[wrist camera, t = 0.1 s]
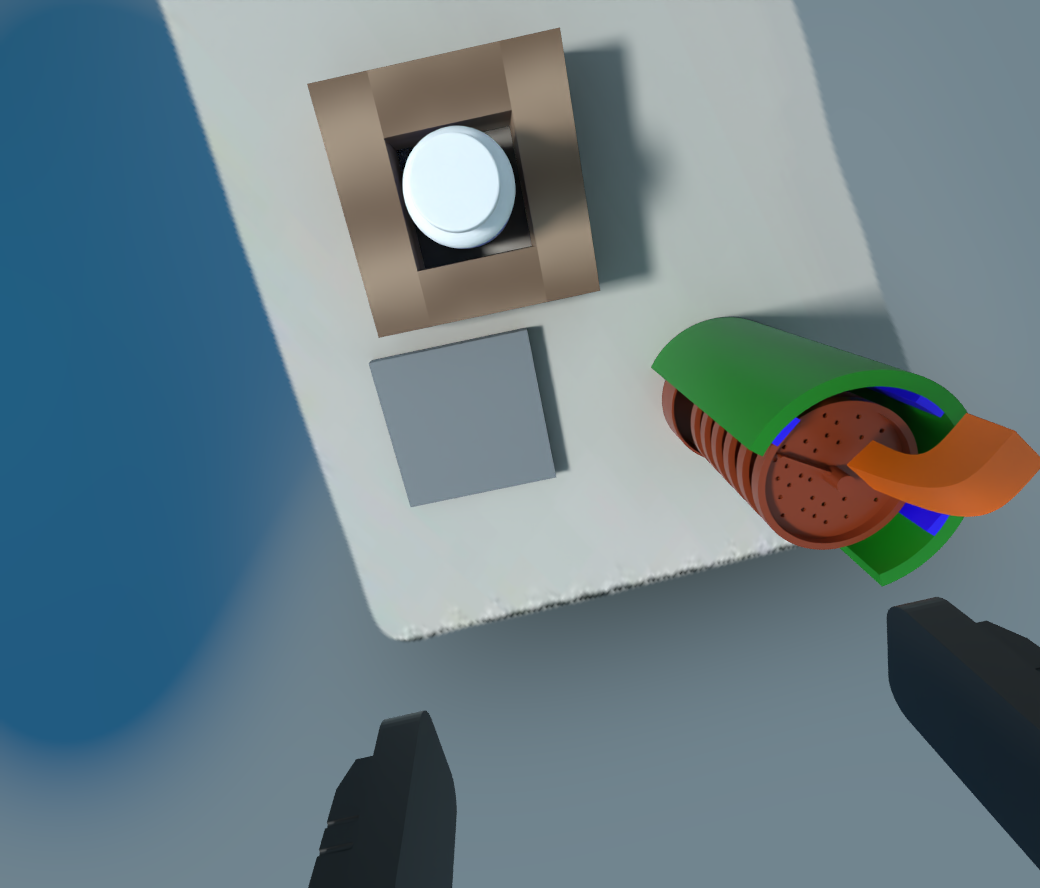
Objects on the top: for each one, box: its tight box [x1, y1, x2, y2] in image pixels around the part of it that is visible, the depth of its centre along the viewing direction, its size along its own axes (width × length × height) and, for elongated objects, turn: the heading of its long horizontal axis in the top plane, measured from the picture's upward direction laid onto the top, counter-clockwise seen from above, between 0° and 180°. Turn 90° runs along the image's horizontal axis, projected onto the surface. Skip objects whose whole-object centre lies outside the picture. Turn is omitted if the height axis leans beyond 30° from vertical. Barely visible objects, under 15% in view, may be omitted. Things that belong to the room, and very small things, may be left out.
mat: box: [369, 328, 556, 507], centre depth 38 cm, size 10×10×1 cm
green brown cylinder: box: [651, 317, 1040, 586], centre depth 29 cm, size 10×9×20 cm
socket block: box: [307, 28, 600, 338], centre depth 32 cm, size 13×13×4 cm
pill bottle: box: [403, 126, 515, 249], centre depth 29 cm, size 5×5×10 cm
